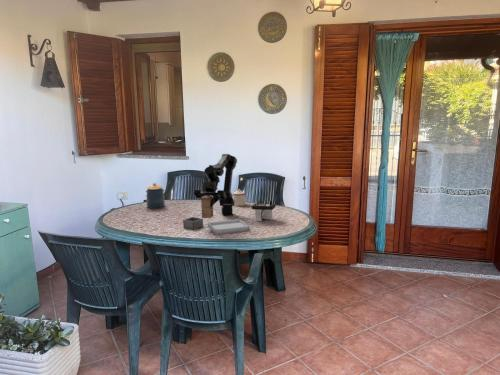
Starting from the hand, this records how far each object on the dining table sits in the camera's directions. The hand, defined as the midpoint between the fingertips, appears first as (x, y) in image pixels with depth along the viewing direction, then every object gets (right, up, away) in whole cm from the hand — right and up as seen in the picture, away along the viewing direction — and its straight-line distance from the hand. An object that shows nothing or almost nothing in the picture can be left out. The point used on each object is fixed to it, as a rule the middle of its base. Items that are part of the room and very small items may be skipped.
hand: (206, 206), depth 220 cm
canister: (-44, -3, +61) cm, 75 cm away
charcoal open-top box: (-9, -12, +8) cm, 17 cm away
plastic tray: (+12, -13, +2) cm, 18 cm away
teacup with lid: (+16, -2, +63) cm, 65 cm away
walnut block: (0, -6, +2) cm, 7 cm away
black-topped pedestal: (+34, -10, +20) cm, 41 cm away
